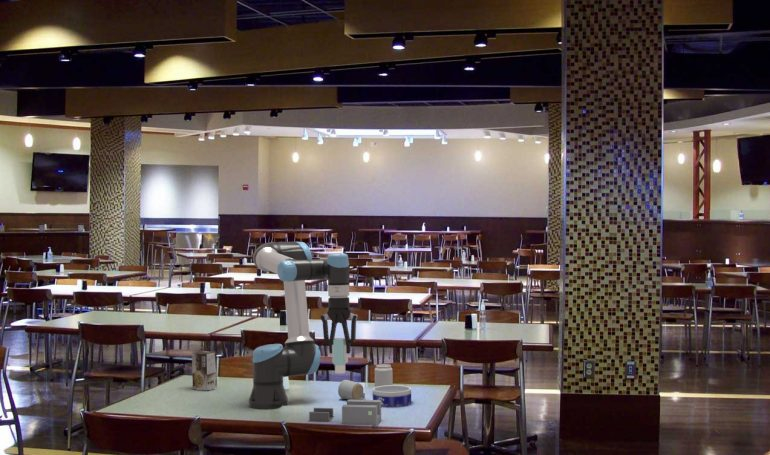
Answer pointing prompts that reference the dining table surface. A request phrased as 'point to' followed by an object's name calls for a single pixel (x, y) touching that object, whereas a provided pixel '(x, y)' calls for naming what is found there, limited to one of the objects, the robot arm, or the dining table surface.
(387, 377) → the can
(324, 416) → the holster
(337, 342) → the plug
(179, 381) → the dining table surface
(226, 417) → the dining table surface
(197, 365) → the coffee box
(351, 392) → the ceramic mug
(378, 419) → the port
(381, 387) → the dog bowl
